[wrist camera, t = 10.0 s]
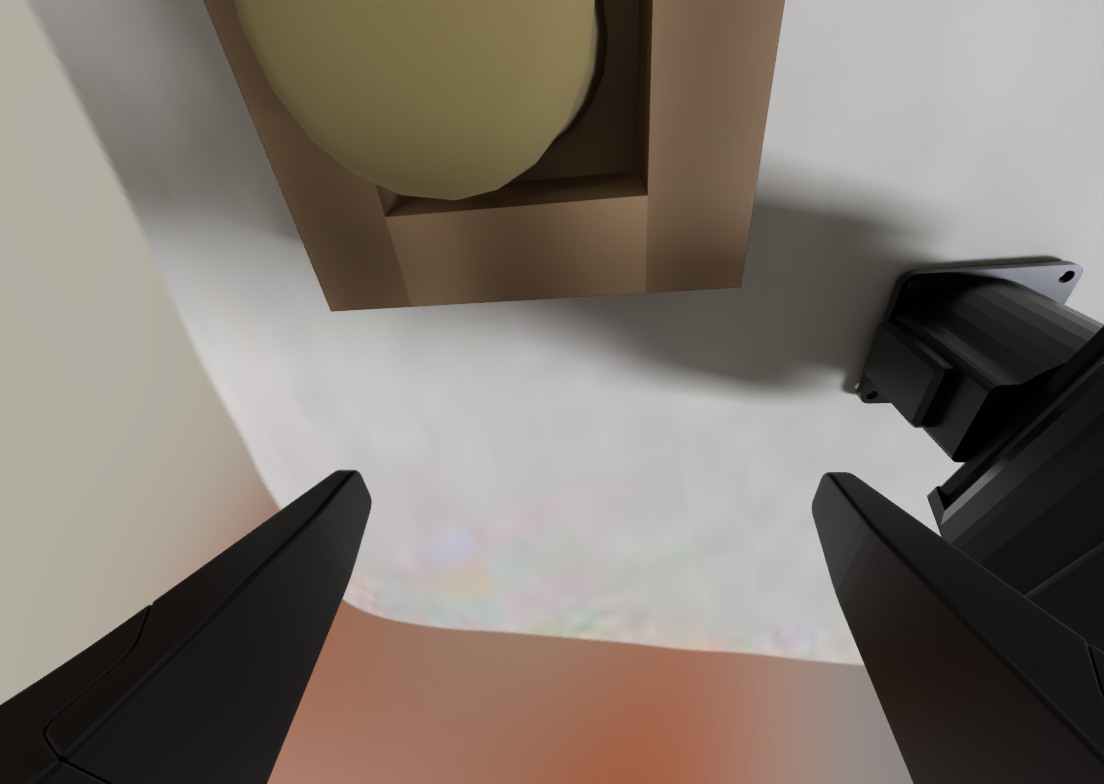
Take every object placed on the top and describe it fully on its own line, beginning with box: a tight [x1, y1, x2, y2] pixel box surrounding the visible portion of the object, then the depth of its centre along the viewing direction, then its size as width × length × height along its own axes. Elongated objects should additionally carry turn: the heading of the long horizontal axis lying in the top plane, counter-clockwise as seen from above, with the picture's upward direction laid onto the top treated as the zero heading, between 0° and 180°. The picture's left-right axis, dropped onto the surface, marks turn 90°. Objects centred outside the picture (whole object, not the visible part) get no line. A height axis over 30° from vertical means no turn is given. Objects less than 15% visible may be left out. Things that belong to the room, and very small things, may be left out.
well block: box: [204, 0, 785, 311], centre depth 13 cm, size 14×14×5 cm
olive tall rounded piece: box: [234, 0, 608, 200], centre depth 10 cm, size 6×6×11 cm
